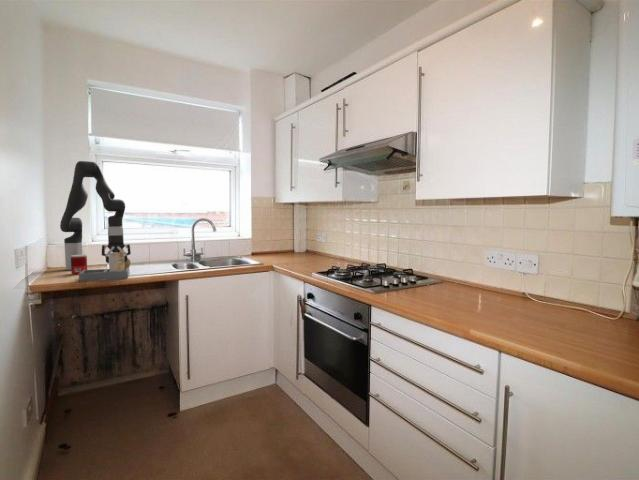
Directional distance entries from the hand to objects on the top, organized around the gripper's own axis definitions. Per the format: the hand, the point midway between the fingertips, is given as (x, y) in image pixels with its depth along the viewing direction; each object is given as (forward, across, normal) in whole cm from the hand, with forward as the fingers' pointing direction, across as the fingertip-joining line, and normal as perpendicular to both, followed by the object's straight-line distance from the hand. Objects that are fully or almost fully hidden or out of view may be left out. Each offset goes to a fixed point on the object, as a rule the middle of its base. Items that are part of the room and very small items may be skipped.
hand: (116, 262), depth 201 cm
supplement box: (+7, 0, 0) cm, 7 cm away
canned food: (+8, +22, -21) cm, 31 cm away
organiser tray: (+8, +6, 0) cm, 10 cm away
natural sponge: (+8, -1, -16) cm, 18 cm away
